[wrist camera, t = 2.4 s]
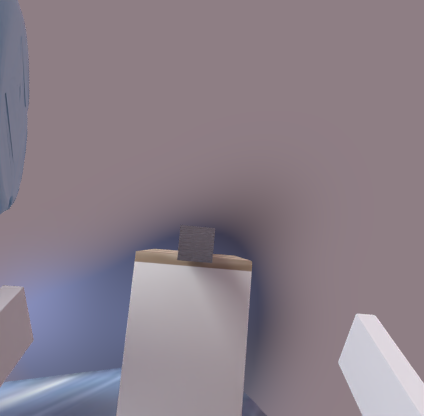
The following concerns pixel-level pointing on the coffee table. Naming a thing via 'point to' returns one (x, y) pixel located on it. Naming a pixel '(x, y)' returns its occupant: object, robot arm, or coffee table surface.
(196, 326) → the pedestal
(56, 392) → the coffee table surface
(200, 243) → the metal bar
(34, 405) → the coffee table surface
